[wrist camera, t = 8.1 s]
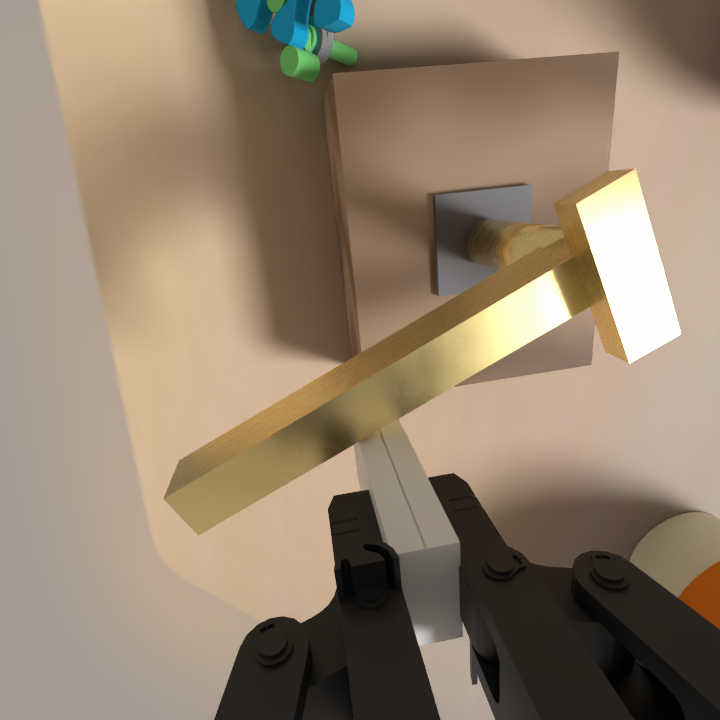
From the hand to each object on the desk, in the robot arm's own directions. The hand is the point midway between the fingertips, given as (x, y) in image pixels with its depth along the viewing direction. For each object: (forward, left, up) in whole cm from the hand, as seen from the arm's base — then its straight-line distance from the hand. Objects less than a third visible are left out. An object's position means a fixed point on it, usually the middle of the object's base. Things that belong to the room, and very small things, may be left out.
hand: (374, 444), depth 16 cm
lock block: (-6, +7, -11) cm, 14 cm away
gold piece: (-3, +1, -6) cm, 7 cm away
